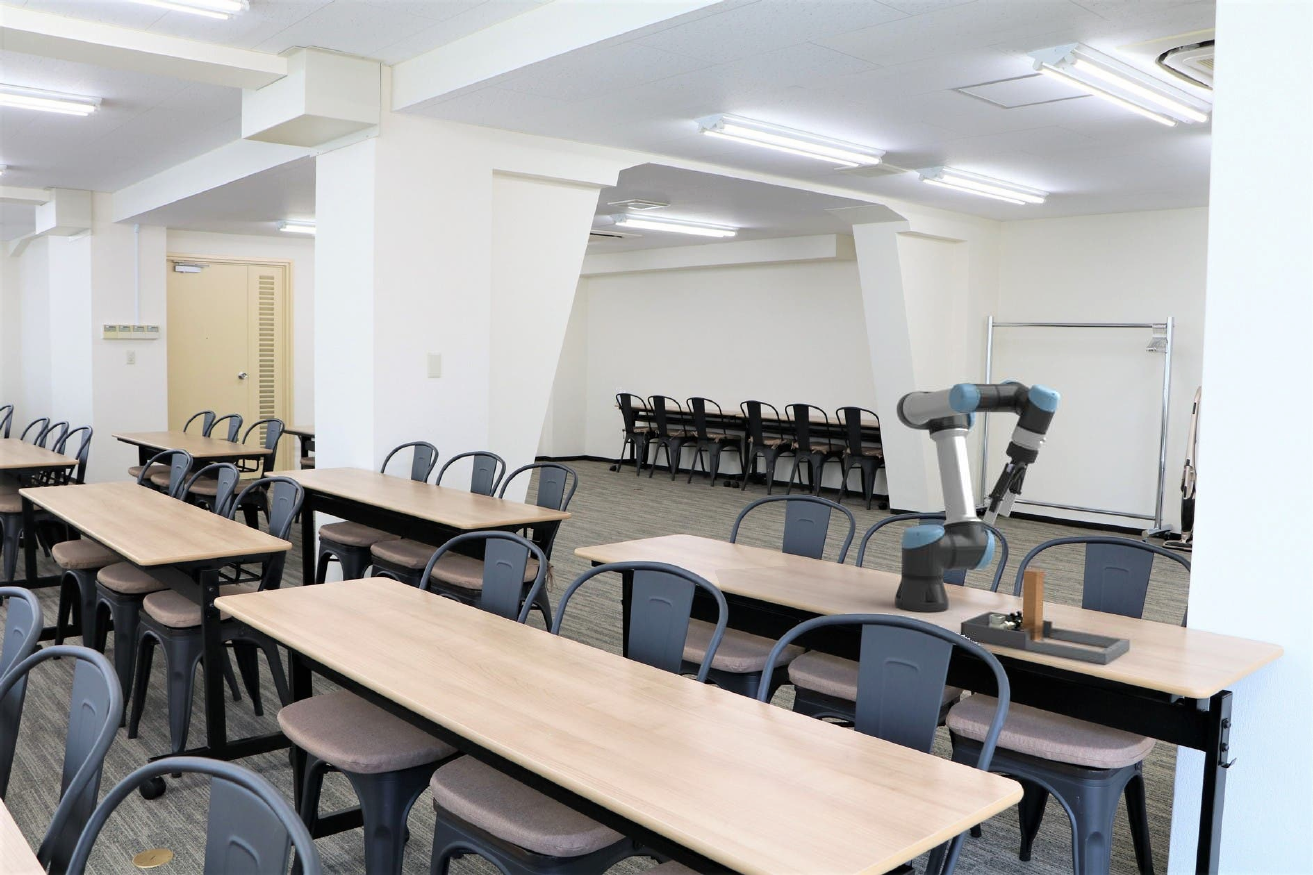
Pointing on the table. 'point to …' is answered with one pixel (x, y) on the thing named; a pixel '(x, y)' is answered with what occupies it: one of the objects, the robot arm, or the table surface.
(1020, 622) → the valve
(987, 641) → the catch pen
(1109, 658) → the slot rails
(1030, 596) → the brown wooden block
